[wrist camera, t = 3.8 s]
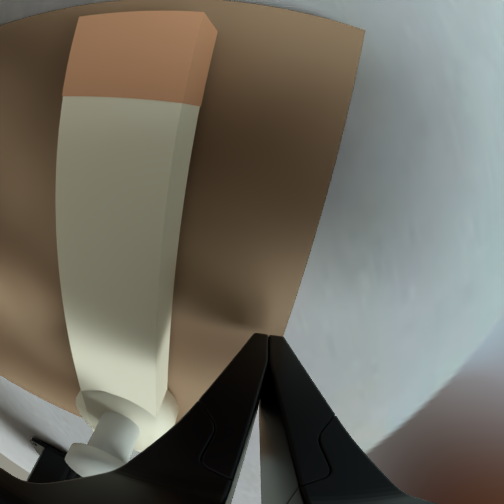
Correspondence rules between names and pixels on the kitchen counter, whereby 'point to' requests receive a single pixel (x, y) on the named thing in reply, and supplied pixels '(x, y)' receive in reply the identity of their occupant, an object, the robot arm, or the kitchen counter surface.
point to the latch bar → (125, 216)
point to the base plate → (197, 188)
